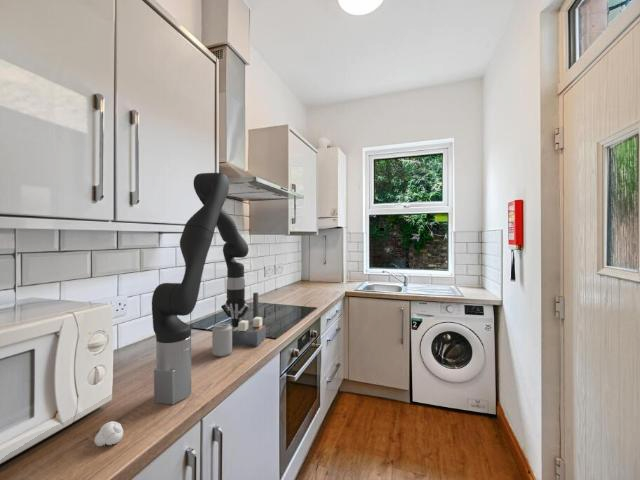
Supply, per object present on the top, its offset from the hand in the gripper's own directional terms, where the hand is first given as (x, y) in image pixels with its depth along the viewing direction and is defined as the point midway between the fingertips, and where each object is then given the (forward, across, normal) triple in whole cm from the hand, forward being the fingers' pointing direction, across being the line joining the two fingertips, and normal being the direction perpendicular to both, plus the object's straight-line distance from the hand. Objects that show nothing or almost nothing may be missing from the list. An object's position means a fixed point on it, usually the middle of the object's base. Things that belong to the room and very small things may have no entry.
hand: (235, 326), depth 126 cm
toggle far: (+1, +8, +6) cm, 10 cm away
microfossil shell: (+8, -2, -61) cm, 61 cm away
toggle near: (+1, +4, 0) cm, 4 cm away
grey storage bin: (+7, +5, +3) cm, 9 cm away
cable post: (+7, +5, +11) cm, 14 cm away
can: (+8, 0, -11) cm, 13 cm away
